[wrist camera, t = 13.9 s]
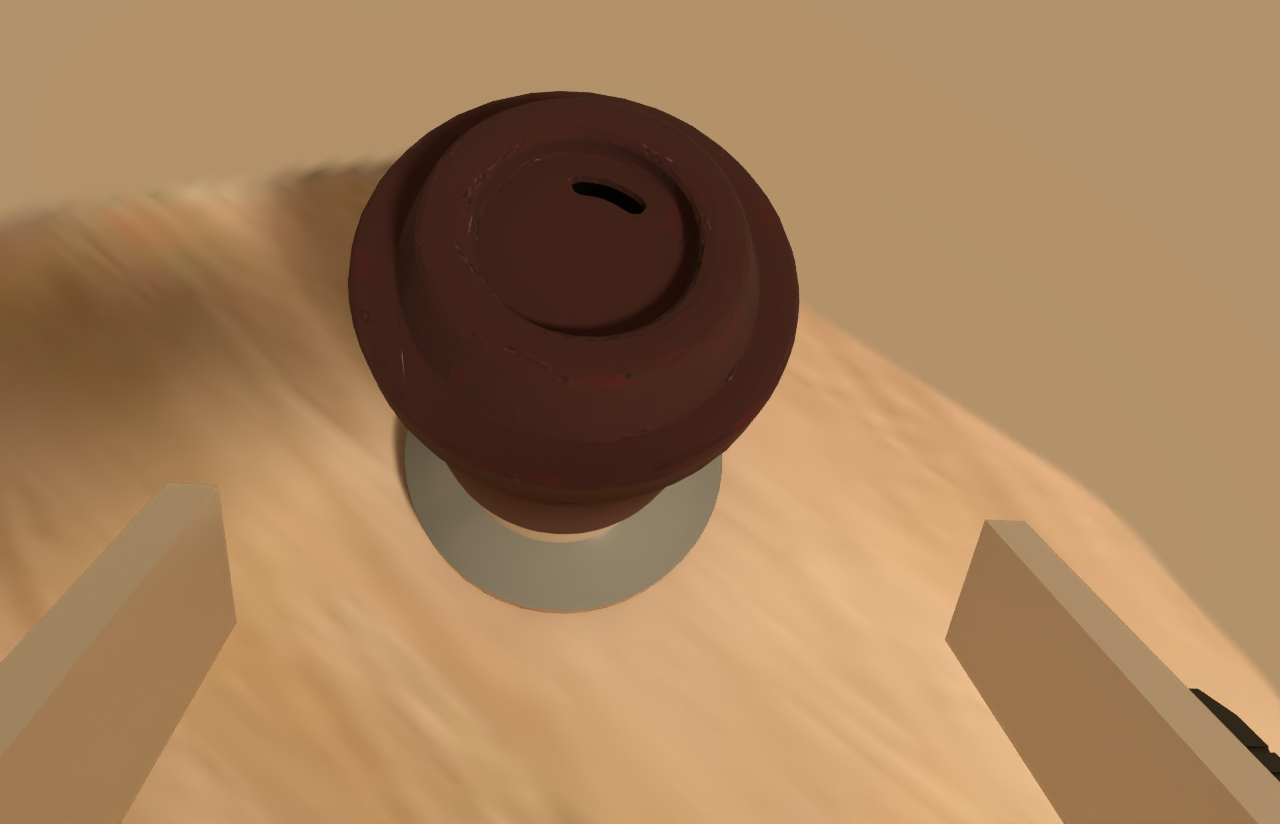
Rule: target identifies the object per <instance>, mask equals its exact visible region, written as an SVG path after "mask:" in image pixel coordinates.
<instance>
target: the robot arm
mask: <svg viewBox="0 0 1280 824" xmlns="http://www.w3.org/2000/svg"><path fill="white" fill-rule="evenodd" d="M235 624H236V616H235V608H234V601H233V593H232V586H231V578H230V571H229V563H228V556H227V548H226V541H225V533H224V526H223V518H222V511H221V504H220V496H219V489H218V485H206V484H184V483H166V485H165V486H164V487H163V488H162V489H161V490H160V491H159V492H158V493H157V494H156V495H155V496H154V498H153V499H152V500H151V501H150V502H149V503H148V504H147V505H146V506H145V507H144V508H143V509H142V511H141V512H140V513H139V514H138V515H137V516H136V517H135V518H134V519H133V520H132V521H131V523H130V524H129V525H128V526H127V527H126V528H125V529H124V530H123V531H122V532H121V533H120V534H119V536H118V537H117V538H116V539H115V540H114V541H113V542H112V543H111V544H110V545H109V546H108V547H107V549H106V550H105V551H104V552H103V553H102V554H101V555H100V556H99V557H98V558H97V559H96V560H95V562H94V563H93V564H92V565H91V566H90V567H89V568H88V569H87V570H86V571H85V572H84V574H83V575H82V576H81V577H80V578H79V579H78V580H77V581H76V582H75V583H74V584H73V585H72V587H71V588H70V589H69V590H68V591H67V592H66V593H65V594H64V595H63V596H62V597H61V598H60V600H59V601H58V602H57V603H56V604H55V605H54V606H53V607H52V608H51V609H50V610H49V612H48V613H47V614H46V615H45V616H44V617H43V618H42V619H41V620H40V621H39V622H38V623H37V625H36V626H35V627H34V628H33V629H32V630H31V631H30V632H29V633H28V634H27V635H26V636H25V638H24V639H23V640H22V641H21V642H20V643H19V644H18V645H17V646H16V647H15V648H14V649H13V651H12V652H11V653H10V654H9V655H8V656H7V657H6V658H5V659H4V660H3V661H2V663H1V664H0V824H121V822H122V820H123V818H124V817H125V815H126V813H127V811H128V810H129V808H130V806H131V804H132V803H133V801H134V799H135V798H136V796H137V794H138V792H139V791H140V789H141V787H142V785H143V784H144V782H145V780H146V778H147V777H148V775H149V773H150V771H151V770H152V768H153V766H154V765H155V763H156V761H157V759H158V758H159V756H160V754H161V752H162V751H163V749H164V747H165V745H166V744H167V742H168V740H169V738H170V737H171V735H172V733H173V731H174V730H175V728H176V726H177V725H178V723H179V721H180V719H181V718H182V716H183V714H184V712H185V711H186V709H187V707H188V705H189V704H190V702H191V700H192V698H193V697H194V695H195V693H196V691H197V690H198V688H199V686H200V685H201V683H202V681H203V679H204V678H205V676H206V674H207V672H208V671H209V669H210V667H211V665H212V664H213V662H214V660H215V658H216V657H217V655H218V653H219V651H220V650H221V648H222V646H223V645H224V643H225V641H226V639H227V638H228V636H229V634H230V632H231V631H232V629H233V627H234V625H235ZM945 640H946V642H947V644H948V645H949V647H950V648H951V650H952V651H953V653H954V654H955V656H956V657H957V659H958V661H959V662H960V664H961V665H962V667H963V668H964V670H965V671H966V673H967V674H968V676H969V678H970V679H971V681H972V682H973V684H974V685H975V687H976V688H977V690H978V692H979V693H980V695H981V696H982V698H983V699H984V701H985V702H986V704H987V705H988V707H989V709H990V710H991V712H992V713H993V715H994V716H995V718H996V719H997V721H998V722H999V724H1000V726H1001V727H1002V729H1003V730H1004V732H1005V733H1006V735H1007V736H1008V738H1009V739H1010V741H1011V743H1012V744H1013V746H1014V747H1015V749H1016V750H1017V752H1018V753H1019V755H1020V756H1021V758H1022V760H1023V761H1024V763H1025V764H1026V766H1027V767H1028V769H1029V770H1030V772H1031V774H1032V775H1033V777H1034V778H1035V780H1036V781H1037V783H1038V784H1039V786H1040V787H1041V789H1042V791H1043V792H1044V794H1045V795H1046V797H1047V798H1048V800H1049V801H1050V803H1051V804H1052V806H1053V808H1054V809H1055V811H1056V812H1057V814H1058V815H1059V817H1060V818H1061V820H1062V821H1063V823H1064V824H1280V757H1279V756H1278V755H1277V754H1276V753H1270V752H1269V749H1268V747H1269V746H1268V745H1267V744H1266V743H1265V742H1264V741H1263V740H1262V739H1261V738H1259V737H1258V736H1257V735H1256V734H1255V733H1254V732H1253V731H1252V730H1251V729H1250V728H1249V727H1248V726H1247V725H1246V724H1245V723H1244V722H1243V721H1242V720H1241V719H1240V718H1239V717H1238V716H1237V715H1236V714H1234V713H1233V712H1231V711H1230V710H1228V709H1227V708H1225V707H1224V706H1222V705H1221V704H1220V703H1218V702H1217V701H1215V700H1214V699H1212V698H1211V697H1209V696H1208V695H1206V694H1205V693H1203V692H1202V691H1200V690H1199V689H1188V688H1187V687H1186V686H1185V685H1184V684H1183V683H1182V682H1181V681H1180V680H1179V679H1178V678H1177V677H1176V675H1175V674H1174V673H1173V672H1172V671H1171V670H1170V669H1169V668H1168V667H1167V666H1166V665H1165V664H1164V663H1163V662H1162V661H1161V660H1160V659H1159V658H1158V657H1157V656H1156V655H1155V654H1154V653H1153V652H1152V651H1151V650H1150V649H1149V648H1148V647H1147V646H1146V645H1145V644H1144V643H1143V642H1142V641H1141V640H1140V639H1139V638H1138V637H1137V636H1136V635H1135V634H1134V633H1133V632H1132V631H1131V629H1130V628H1129V627H1128V626H1127V625H1126V624H1125V623H1124V622H1123V621H1122V620H1121V619H1120V618H1119V617H1118V616H1117V615H1116V614H1115V613H1114V612H1113V611H1112V610H1111V609H1110V608H1109V607H1108V606H1107V605H1106V604H1105V603H1104V602H1103V601H1102V600H1101V599H1100V598H1099V597H1098V596H1097V595H1096V594H1095V593H1094V592H1093V591H1092V590H1091V589H1090V588H1089V587H1088V586H1087V585H1086V584H1085V582H1084V581H1083V580H1082V579H1081V578H1080V577H1079V576H1078V575H1077V574H1076V573H1075V572H1074V571H1073V570H1072V569H1071V568H1070V567H1069V566H1068V565H1067V564H1066V563H1065V562H1064V561H1063V560H1062V559H1061V558H1060V557H1059V556H1058V555H1057V554H1056V553H1055V552H1054V551H1053V550H1052V549H1051V548H1050V547H1049V546H1048V545H1047V544H1046V543H1045V542H1044V541H1043V540H1042V539H1041V538H1040V536H1039V535H1038V534H1037V533H1036V532H1035V531H1034V530H1033V529H1032V528H1031V527H1030V526H1029V525H1028V524H1027V523H1026V522H1025V521H1007V520H985V522H984V525H983V528H982V531H981V534H980V537H979V540H978V543H977V546H976V549H975V552H974V555H973V558H972V561H971V563H970V566H969V569H968V572H967V575H966V578H965V581H964V584H963V587H962V590H961V593H960V596H959V599H958V602H957V605H956V608H955V611H954V614H953V617H952V620H951V623H950V626H949V629H948V632H947V635H946V638H945Z"/></svg>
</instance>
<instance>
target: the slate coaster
mask: <svg viewBox="0 0 1280 824" xmlns="http://www.w3.org/2000/svg"><path fill="white" fill-rule="evenodd" d="M405 472H406V480H407V487H408V490H409V494H410V497H411V501H412V505H413V507H414V510H415V512H416V514H417V517H418V519H419V521H420V523H421V526H422V527H423V529H424V531H425V532H426V534H427V535H428V537H429V539H430V540H431V542H432V543H433V545H434V547H435V548H436V550H437V551H438V552H439V553H440V555H441V556H442V557H443V558H444V559H445V561H446V562H447V563H448V564H449V565H450V566H451V567H452V568H453V569H454V570H455V571H456V572H457V573H458V574H459V575H461V576H462V577H463V578H464V579H465V580H466V581H468V582H469V583H471V584H472V585H474V586H475V587H477V588H478V589H480V590H481V591H482V592H484V593H486V594H488V595H490V596H492V597H494V598H496V599H498V600H500V601H503V602H506V603H509V604H511V605H514V606H517V607H520V608H524V609H529V610H534V611H540V612H548V613H577V612H588V611H592V610H597V609H602V608H606V607H609V606H612V605H615V604H618V603H620V602H623V601H626V600H628V599H630V598H632V597H634V596H636V595H638V594H640V593H642V592H643V591H645V590H647V589H648V588H650V587H651V586H652V585H654V584H655V583H657V582H658V581H659V580H661V579H662V578H663V577H664V576H665V575H667V574H668V573H669V572H670V571H671V570H672V569H673V568H674V567H675V566H676V565H677V564H678V563H679V562H681V561H682V560H683V558H684V557H685V556H686V555H687V553H688V552H689V551H690V550H691V549H692V547H693V546H694V545H695V544H696V542H697V540H698V539H699V537H700V535H701V534H702V532H703V531H704V529H705V527H706V525H707V523H708V521H709V518H710V516H711V514H712V511H713V509H714V506H715V503H716V499H717V495H718V492H719V487H720V480H721V473H722V454H721V455H719V456H718V457H717V458H715V459H714V460H713V461H711V462H710V463H709V464H707V465H706V466H705V467H703V468H702V469H701V470H699V471H697V472H696V473H694V474H692V475H690V476H688V477H686V478H684V479H683V480H681V481H679V482H677V483H675V484H673V485H670V486H667V487H666V488H665V489H664V490H663V491H661V492H660V493H659V494H658V495H657V496H656V497H655V498H654V499H653V500H652V501H651V502H650V503H649V504H647V505H646V506H645V507H644V508H642V509H641V510H640V511H638V512H637V513H635V514H634V515H632V516H631V517H629V518H627V519H625V520H623V521H621V522H620V523H619V524H618V525H616V526H614V527H613V528H611V529H610V530H608V531H606V532H604V533H602V534H600V535H597V536H594V537H591V538H588V539H584V540H580V541H575V542H565V543H561V542H546V541H539V540H535V539H531V538H528V537H525V536H522V535H520V534H517V533H515V532H513V531H511V530H509V529H508V528H506V527H504V526H503V525H501V524H500V523H498V522H497V521H496V520H495V519H494V518H492V517H491V516H490V515H489V514H488V513H487V512H486V511H485V510H484V509H483V507H482V506H481V505H480V504H479V503H478V502H477V501H475V500H474V499H473V498H472V497H471V496H470V495H469V494H468V493H467V492H466V491H465V490H464V488H463V487H462V486H461V485H460V483H459V482H458V481H457V479H456V478H455V476H454V475H453V473H452V472H451V470H450V469H449V467H448V466H447V464H446V462H444V461H443V460H441V459H440V458H439V457H437V456H436V455H435V454H434V453H433V452H432V451H430V450H429V449H428V448H427V447H426V446H425V445H424V444H422V443H421V442H420V441H419V440H418V439H417V438H416V437H415V436H414V435H413V434H412V433H411V432H410V431H409V430H408V429H407V435H406V441H405Z"/></svg>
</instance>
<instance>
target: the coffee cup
mask: <svg viewBox="0 0 1280 824" xmlns="http://www.w3.org/2000/svg"><path fill="white" fill-rule="evenodd" d="M348 288H349V303H350V309H351V314H352V320H353V325H354V329H355V332H356V335H357V338H358V342H359V345H360V347H361V350H362V352H363V354H364V357H365V359H366V361H367V364H368V366H369V368H370V370H371V372H372V374H373V376H374V378H375V380H376V382H377V385H378V387H379V388H380V390H381V392H382V393H383V395H384V397H385V399H386V400H387V402H388V404H389V405H390V407H391V408H392V409H393V411H394V412H395V413H396V415H397V416H398V417H399V419H400V420H401V421H402V423H403V424H404V425H405V427H406V428H407V429H408V430H409V431H410V432H411V433H412V434H413V435H414V436H415V437H416V438H417V439H418V440H419V441H420V442H421V443H422V444H424V445H425V446H426V447H427V448H428V449H429V450H430V451H432V452H433V453H434V454H435V455H436V456H437V457H439V458H440V459H441V460H443V461H444V462H446V464H447V466H448V467H449V469H450V470H451V472H452V473H453V475H454V476H455V478H456V479H457V481H458V482H459V483H460V485H461V486H462V487H463V488H464V490H465V491H466V492H467V493H468V494H469V495H470V496H471V497H472V498H473V499H474V500H475V501H477V502H478V503H479V504H480V505H481V506H482V507H483V509H484V510H485V511H486V512H487V513H488V514H489V515H490V516H491V517H492V518H494V519H495V520H496V521H497V522H498V523H500V524H501V525H503V526H504V527H506V528H508V529H509V530H511V531H513V532H515V533H517V534H520V535H522V536H525V537H528V538H531V539H535V540H539V541H546V542H561V543H565V542H575V541H580V540H584V539H588V538H591V537H594V536H597V535H600V534H602V533H604V532H606V531H608V530H610V529H611V528H613V527H614V526H616V525H618V524H619V523H620V522H621V521H623V520H625V519H627V518H629V517H631V516H632V515H634V514H635V513H637V512H638V511H640V510H641V509H642V508H644V507H645V506H646V505H647V504H649V503H650V502H651V501H652V500H653V499H654V498H655V497H656V496H657V495H658V494H659V493H660V492H661V491H663V490H664V489H665V488H666V487H667V486H670V485H673V484H675V483H677V482H679V481H681V480H683V479H684V478H686V477H688V476H690V475H692V474H694V473H696V472H697V471H699V470H701V469H702V468H703V467H705V466H706V465H707V464H709V463H710V462H711V461H713V460H714V459H715V458H717V457H718V456H719V455H721V454H722V453H723V452H724V451H726V450H727V449H728V448H729V447H730V446H731V445H732V444H733V442H734V441H735V440H736V439H737V438H738V437H739V436H740V435H741V434H742V433H743V432H744V431H745V429H746V428H747V427H748V426H749V424H750V423H751V422H752V421H753V419H754V418H755V417H756V416H757V415H758V413H759V412H760V411H761V409H762V408H763V407H764V405H765V404H766V403H767V401H768V400H769V398H770V397H771V395H772V393H773V392H774V390H775V388H776V386H777V385H778V383H779V380H780V378H781V376H782V374H783V372H784V369H785V367H786V365H787V362H788V359H789V356H790V354H791V350H792V347H793V344H794V340H795V334H796V328H797V322H798V313H799V285H798V279H797V272H796V266H795V260H794V256H793V252H792V249H791V246H790V244H789V241H788V239H787V236H786V234H785V231H784V229H783V226H782V223H781V221H780V218H779V216H778V215H777V213H776V211H775V209H774V208H773V206H772V204H771V203H770V201H769V199H768V198H767V196H766V195H765V193H764V192H763V191H762V189H761V188H760V187H759V185H758V184H757V183H756V182H755V180H754V179H753V178H752V177H751V175H750V174H749V173H748V172H747V171H746V170H745V169H744V168H743V167H742V166H741V165H740V163H739V162H738V161H736V160H735V159H734V158H733V157H732V156H731V155H730V154H729V153H728V152H726V150H724V149H723V148H722V147H721V146H720V145H718V144H717V143H715V142H714V141H713V140H711V139H710V138H709V137H707V136H706V135H704V134H703V133H701V132H700V131H699V130H697V129H696V128H694V127H693V126H691V125H689V124H687V123H685V122H683V121H681V120H680V119H677V118H676V117H674V116H672V115H670V114H667V113H665V112H663V111H660V110H658V109H656V108H652V107H649V106H646V105H643V104H640V103H636V102H633V101H630V100H626V99H623V98H617V97H611V96H606V95H601V94H595V93H588V92H567V91H555V92H542V93H541V92H540V93H529V94H524V95H520V96H516V97H511V98H506V99H501V100H497V101H492V102H490V103H487V104H484V105H482V106H479V107H477V108H474V109H472V110H469V111H467V112H465V113H462V114H459V115H457V116H455V117H453V118H452V119H450V120H448V121H447V122H445V123H444V124H442V125H440V126H438V127H437V128H435V129H433V130H432V131H430V132H429V133H427V134H426V135H425V136H424V137H422V138H421V139H420V140H419V141H418V142H416V143H415V144H414V145H413V146H412V147H410V148H409V149H408V150H407V151H406V152H405V153H404V154H403V155H402V156H401V157H400V158H399V159H398V160H397V161H396V162H395V163H394V164H393V165H392V166H391V167H390V169H389V170H388V171H387V173H386V174H385V175H384V176H383V178H382V179H381V180H380V182H379V183H378V185H377V187H376V189H375V190H374V192H373V194H372V196H371V198H370V199H369V201H368V203H367V205H366V207H365V208H364V210H363V212H362V215H361V218H360V221H359V224H358V227H357V230H356V233H355V237H354V241H353V244H352V249H351V259H350V269H349V278H348Z"/></svg>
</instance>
